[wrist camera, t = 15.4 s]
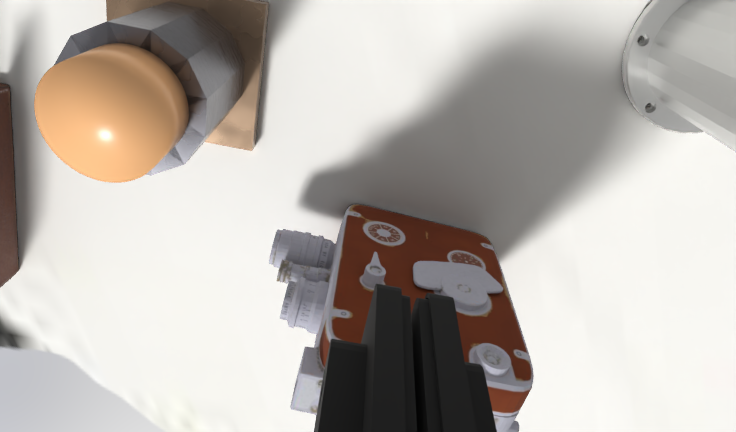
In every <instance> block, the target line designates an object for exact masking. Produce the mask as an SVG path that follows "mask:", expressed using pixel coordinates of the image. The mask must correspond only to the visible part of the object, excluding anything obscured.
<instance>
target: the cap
mask: <svg viewBox="0 0 736 432" xmlns="http://www.w3.org/2000/svg"><path fill="white" fill-rule="evenodd" d="M34 109H35V116H36V120H37V124H38V127H39V129H40V132H41V134H42V136H43V138H44V139H45V141H46V143H47V144H48V145H49V147H50V148H51V150H52V151H53V152H54V153H55V154H56V155H57V156H58V157H59V158H60V159H61V160H62V161H63V162H64V163H66V164H67V165H68V166H70V167H71V168H72V169H74V170H76V171H77V172H79V173H81V174H83V175H85V176H87V177H90V178H93V179H96V180H100V181H104V182H127V181H131V180H135V179H137V178H140V177H142V176H143V175H145V174H147V173H148V172H149V171H150V170H152V169H153V168H154V167H155V166H156V165H157V164H158V163H159V162H160V161H161V160H162V159H163V158H164V157H165V156H166V155H167V154H168V153H169V152H170V151H171V150H172V149H173V148H174V147H175V146H176V144H177V143H178V142H179V141H180V140H181V138H182V137H183V135H184V133H185V130H186V128H187V124H188V118H189V107H188V101H187V97H186V94H185V91H184V89H183V86H182V84H181V82H180V81H179V79H178V77H177V76H176V75H175V73H174V72H173V71H172V70H171V68H170V67H169V66H168V65H167V64H166V63H165V62H163V61H162V60H161V59H160V58H159V57H157V56H156V55H154V54H153V53H151V52H149V51H147V50H145V49H143V48H140V47H138V46H134V45H130V44H124V43H111V44H105V45H102V46H98V47H96V48H94V49H91V50H89V51H86V52H84V53H81V54H79V55H76V56H74V57H71V58H69V59H66V60H64V61H62V62H60V63H58V64H56V65H54V66H53V67H52V68H50V69H49V70H48V71H47V72H46V73H45V74H44V76H43V77H42V79H41V80H40V82H39V84H38V86H37V90H36V93H35V100H34Z"/></svg>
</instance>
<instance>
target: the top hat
mask: <svg viewBox="0 0 736 432" xmlns="http://www.w3.org/2000/svg"><path fill="white" fill-rule="evenodd" d="M106 7H107V22H105V23H102V24H100V25H97V26H95V27H92V28H90V29H87V30H85V31H82V32H80V33H77V34H74V35H72V36H70V38H69V40H68V42H67V43H66V45H65V47H64V49H63V50H62V52H61V54H60V56H59V57H58V59H57V61H56V63H55V64H54V65H56V64H58V63H60V62H62V61H64V60H66V59H69V58H71V57H74V56H76V55H79V54H81V53H84V52H86V51H89V50H91V49H94V48H96V47H98V46H102V45H105V44H111V43H124V44H130V45H134V46H138V47H140V48H143V49H145V50H147V51H149V52H151V53H153V54H154V55H156V56H157V57H159V58H160V59H161V60H162V61H163V62H165V63H166V64H167V65H168V66H169V67H170V68H171V70H172V71H173V72H174V73H175V75H176V76H177V77H178V79H179V81H180V82H181V84H182V86H183V89H184V91H185V94H186V97H187V101H188V107H189V118H188V124H187V128H186V130H185V133H184V135H183V137H182V138H181V140H180V141H179V142H178V143H177V144H176V146H175V147H174V148H173V149H172V150H171V151H170V152H169V153H168V154H167V155H166V156H165V157H164V158H163V159H162V160H161V161H160V162H159V163H158V164H157V165H156V166H155V167H154V168H153V169H152V170H150V171H149V172H148V173H147V175H153V174H156V173H159V172H162V171H165V170H169V169H172V168H175V167H178V166H181V165H184V164H185V163H186V162H187V161H188V160H189V159H190V157H191V156H192V155H193V154H194V153H195V152H196V151H197V149H198V148H199V147H200V146H201V145H202V144H203V143H204V142H208V143H213V144H218V145H224V146H229V147H234V148H239V149H245V150H250V151H252V150H253V149H254V147H255V143H256V132H257V122H258V112H259V101H260V91H261V81H262V70H263V60H264V50H265V40H266V29H267V19H268V9H269V2H264V1H259V0H106Z"/></svg>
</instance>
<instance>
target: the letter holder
mask: <svg viewBox="0 0 736 432" xmlns="http://www.w3.org/2000/svg"><path fill="white" fill-rule="evenodd" d="M12 141H13V137H12V118H11V98H10V87H9V85H6V84H2V83H0V287H1V286H3V285H4V284H5V283H6V282H7V281H8V280H9V279H11V278H12V276H14V275H15V274H16V273H17V272H18V271H19V266H18V263H19V262H18V259H19V258H18V243H17V225H16V224H17V222H16V202H15V198H16V197H15V176H14V173H15V172H14V160H13V152H14V150H13V142H12Z"/></svg>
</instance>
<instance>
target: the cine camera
mask: <svg viewBox="0 0 736 432" xmlns="http://www.w3.org/2000/svg"><path fill="white" fill-rule="evenodd" d="M269 264H273V265H274V267H278V268H279V272H278V276H277V281H280V282H284V283H287V284H288V287H287V290H286V294H285V298H284V302H283V306H282V310H281V315H280V319H284V320H287V321H288V325H289V327H292V328H294V326H296V327H301V328H305V329H306V330H307V331H308V332H310V333H314V334H317V335H316V341H315V346H314V348H311V347H305V349H304V353H303V357H302V360H301V364H300V368H299V372H298V375H297V379H296V383H295V388H294V393H293V398H292V402H291V409H293V410H297V411H302V412H307V413H312V414H315V415H316V416H317V409H318V403H319V397H320V391H321V385H322V380H323V374H324V369H325V364H326V359H327V354H328V349H329V345H330V340H331V339H337V340H343V341H348V342H354V343H360V344H361V341H362V337H363V333H364V329H365V325H366V320H367V316H368V312H369V308H370V304H371V300H372V296H373V292H374V288H375V285H376V283H377V284H383V285H388V286H394V287H399V288H401V289H402V295H405V296H410V302H411V313H412V310H413V306H414V303H415V300H416V298H422V299H425V296H426V294H427V293H432V294H438V295H444V296H449V297H453V298H454V302H455V308H456V314H457V320H458V326H459V331H460V337H461V343H462V349H463V355H464V361H465V362H469V363H475V364H480V365H481V366H482V367H483V370H484V373H485V377H486V382H487V387H488V391H489V396H490V401H491V406H492V411H493V415H494V420H495V425H496V430H497V432H519V424H518V422H517V421H514V420H515V418H516V416H517V414H518V413H519V410H520V408H521V407H522V405H523V403H524V401H525V399H526V397H527V396H528V394H529V392H530V390H531V388H532V383H533V368H532V364H531V360H530V356H529V353H528V350H527V347H526V344H525V340H524V337H523V334H522V331H521V328H520V325H519V322H518V319H517V316H516V313H515V309H514V306H513V303H512V300H511V297H510V294H509V291H508V288H507V285H506V282H505V278H504V275H503V272H502V269H501V266H500V263H499V261H498V258H497V255H496V253H495V250H494V248H493V246H492V244H491V243H490V241H489V240H488V239H487V238H486V237H484V236H482V235H480V234H477V233H474V232H471V231H467V230H463V229H459V228H455V227H451V226H447V225H443V224H439V223H435V222H431V221H427V220H423V219H419V218H415V217H411V216H407V215H403V214H399V213H394V212H390V211H386V210H382V209H378V208H374V207H370V206H365V205H359V204H355V205H350V207H349V208H348V209H347V210H346V212H345V215H344V218H343V221H342V224H341V227H340V231H339V234H338V238H337V242H336V244H334V243H333V242H332V241H331V240H327V239H324V237H323V236H320V235H319V236H313V235H311V233H308V232H306V233H303V232H298V231H290V230H285V229H283V230H277V232H276V235H275V239H274V242H273V246H272V250H271V254H270V260H269ZM288 282H289V283H288Z"/></svg>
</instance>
